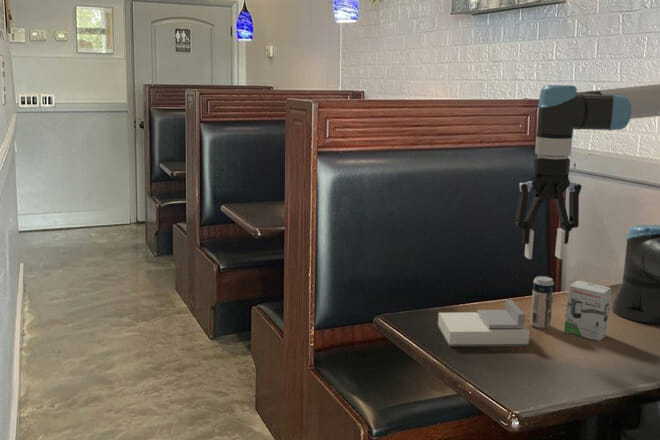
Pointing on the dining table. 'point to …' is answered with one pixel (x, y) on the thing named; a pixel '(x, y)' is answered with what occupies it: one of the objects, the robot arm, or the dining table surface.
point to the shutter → (503, 316)
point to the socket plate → (478, 331)
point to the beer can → (542, 302)
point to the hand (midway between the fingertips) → (543, 257)
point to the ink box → (587, 310)
